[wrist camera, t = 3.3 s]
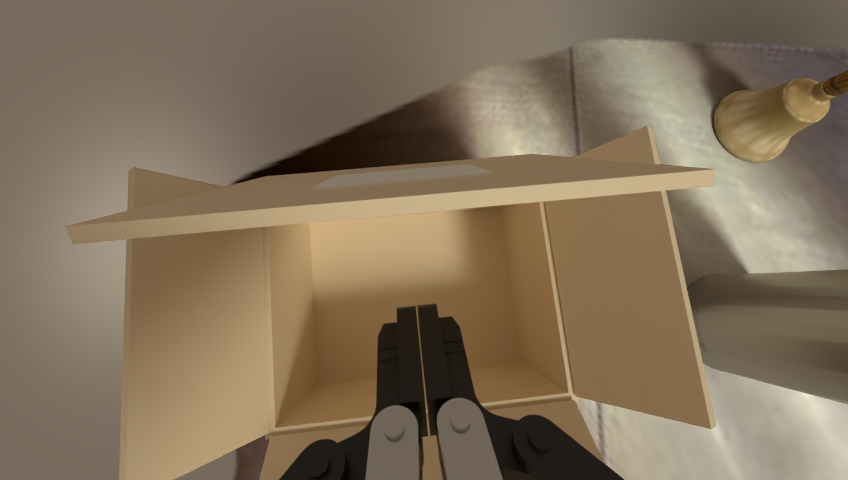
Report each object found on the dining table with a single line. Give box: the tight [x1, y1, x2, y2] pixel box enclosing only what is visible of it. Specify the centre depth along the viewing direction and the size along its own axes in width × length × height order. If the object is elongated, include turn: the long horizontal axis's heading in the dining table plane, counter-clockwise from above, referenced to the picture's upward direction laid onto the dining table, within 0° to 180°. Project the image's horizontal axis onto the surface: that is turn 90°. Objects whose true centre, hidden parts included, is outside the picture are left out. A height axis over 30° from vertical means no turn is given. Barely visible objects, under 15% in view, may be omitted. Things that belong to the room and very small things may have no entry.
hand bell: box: [714, 71, 848, 163], centre depth 28 cm, size 8×8×16 cm
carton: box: [119, 126, 716, 480], centre depth 21 cm, size 28×26×20 cm
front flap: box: [66, 154, 716, 244], centre depth 16 cm, size 18×14×1 cm
